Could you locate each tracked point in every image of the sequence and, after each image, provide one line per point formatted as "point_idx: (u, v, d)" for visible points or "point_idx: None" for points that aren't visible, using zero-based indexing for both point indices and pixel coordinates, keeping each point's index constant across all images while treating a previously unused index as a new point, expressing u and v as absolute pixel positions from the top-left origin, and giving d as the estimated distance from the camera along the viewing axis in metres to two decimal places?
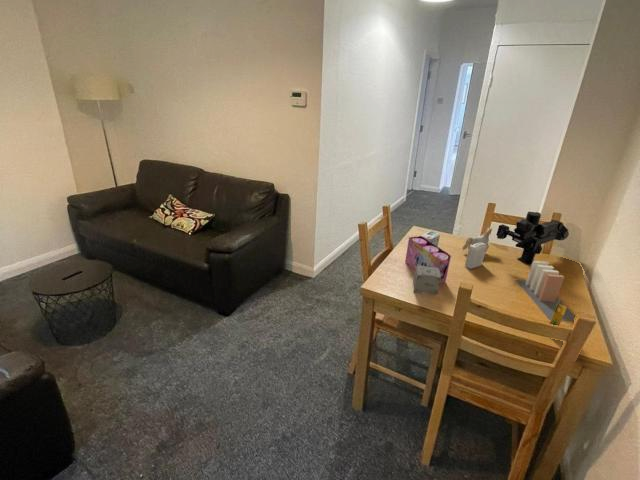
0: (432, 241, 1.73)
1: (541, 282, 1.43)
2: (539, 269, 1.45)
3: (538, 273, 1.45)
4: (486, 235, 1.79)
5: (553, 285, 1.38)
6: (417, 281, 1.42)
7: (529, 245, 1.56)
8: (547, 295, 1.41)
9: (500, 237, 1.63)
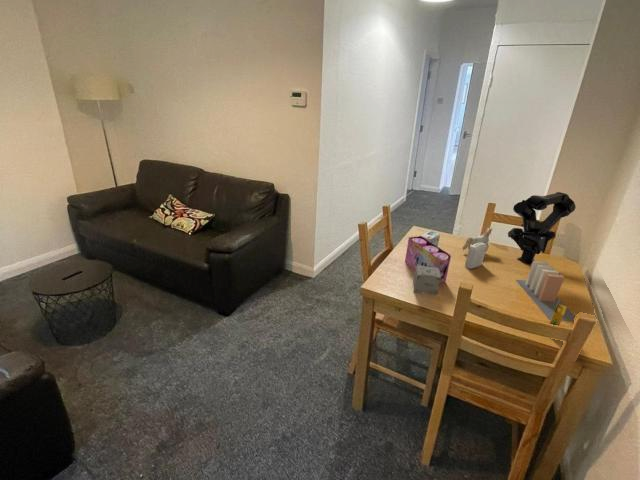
0: (432, 241, 1.73)
1: (541, 282, 1.43)
2: (539, 269, 1.45)
3: (538, 273, 1.45)
4: (486, 235, 1.79)
5: (553, 285, 1.38)
6: (417, 281, 1.42)
7: None
8: (547, 295, 1.41)
9: None
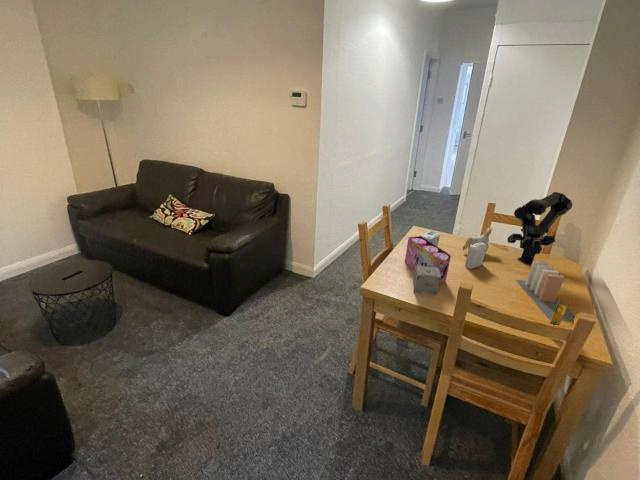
0: (432, 241, 1.73)
1: (541, 282, 1.43)
2: (539, 269, 1.45)
3: (538, 273, 1.45)
4: (486, 235, 1.79)
5: (553, 285, 1.38)
6: (417, 281, 1.42)
7: None
8: (547, 295, 1.41)
9: None
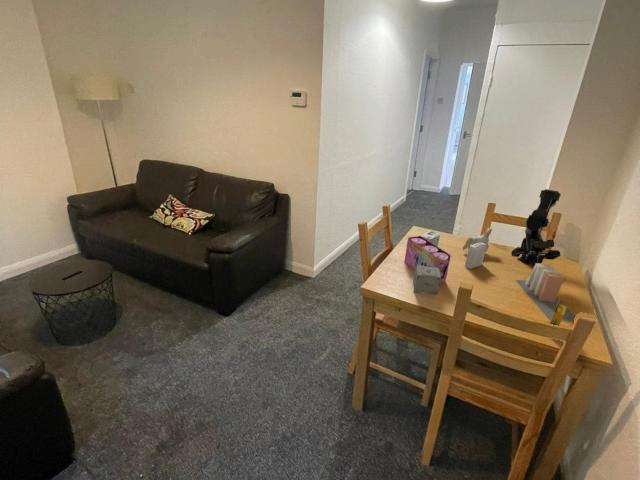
0: (432, 241, 1.73)
1: (541, 282, 1.43)
2: (539, 269, 1.45)
3: (538, 273, 1.45)
4: (486, 235, 1.79)
5: (553, 285, 1.38)
6: (417, 281, 1.42)
7: None
8: (547, 295, 1.41)
9: None
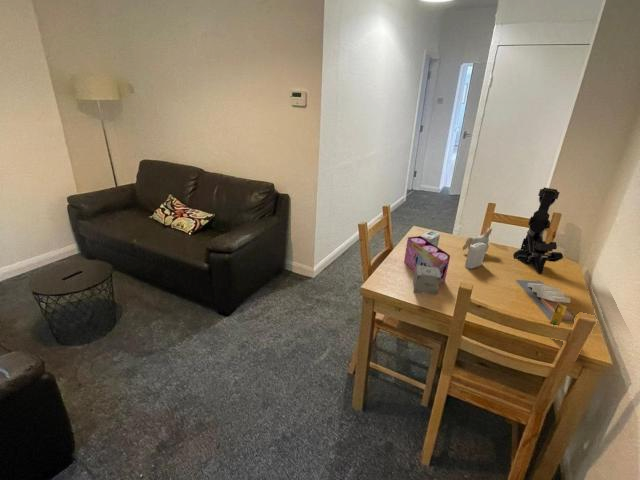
0: (432, 241, 1.73)
1: None
2: None
3: (545, 294, 1.40)
4: (486, 235, 1.79)
5: None
6: (417, 281, 1.42)
7: None
8: None
9: None
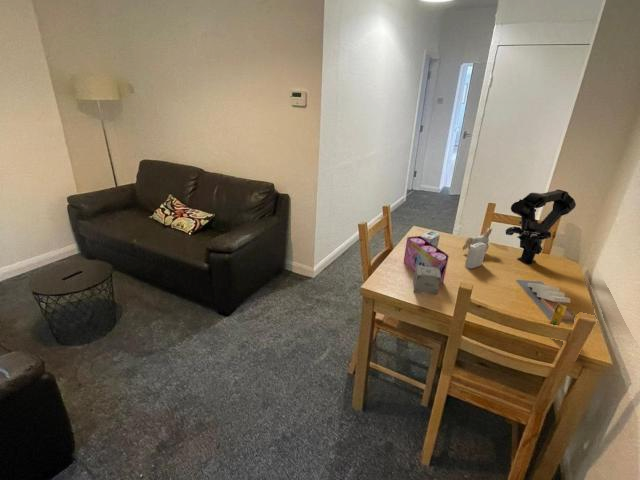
0: (432, 241, 1.73)
1: None
2: None
3: (545, 294, 1.40)
4: (486, 235, 1.79)
5: None
6: (417, 281, 1.42)
7: None
8: None
9: None
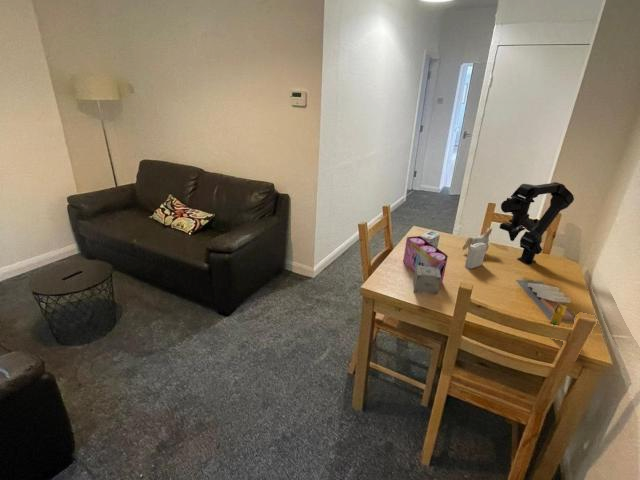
0: (432, 241, 1.73)
1: (547, 299, 1.38)
2: None
3: (545, 294, 1.40)
4: (486, 235, 1.79)
5: None
6: (417, 281, 1.42)
7: None
8: None
9: None
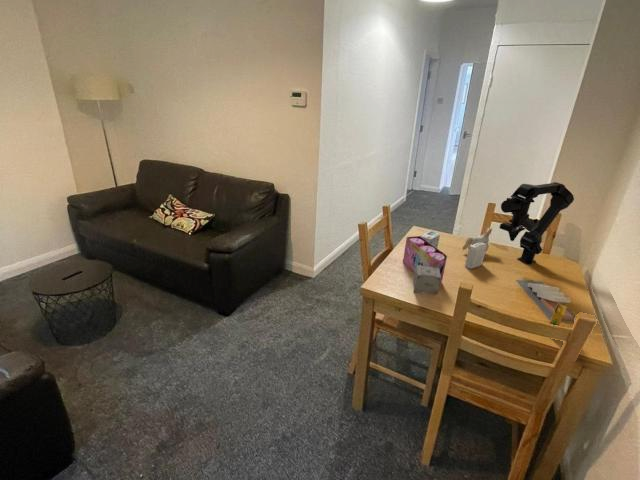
0: (432, 241, 1.73)
1: (547, 299, 1.38)
2: None
3: (545, 294, 1.40)
4: (486, 235, 1.79)
5: None
6: (417, 281, 1.42)
7: None
8: None
9: None
